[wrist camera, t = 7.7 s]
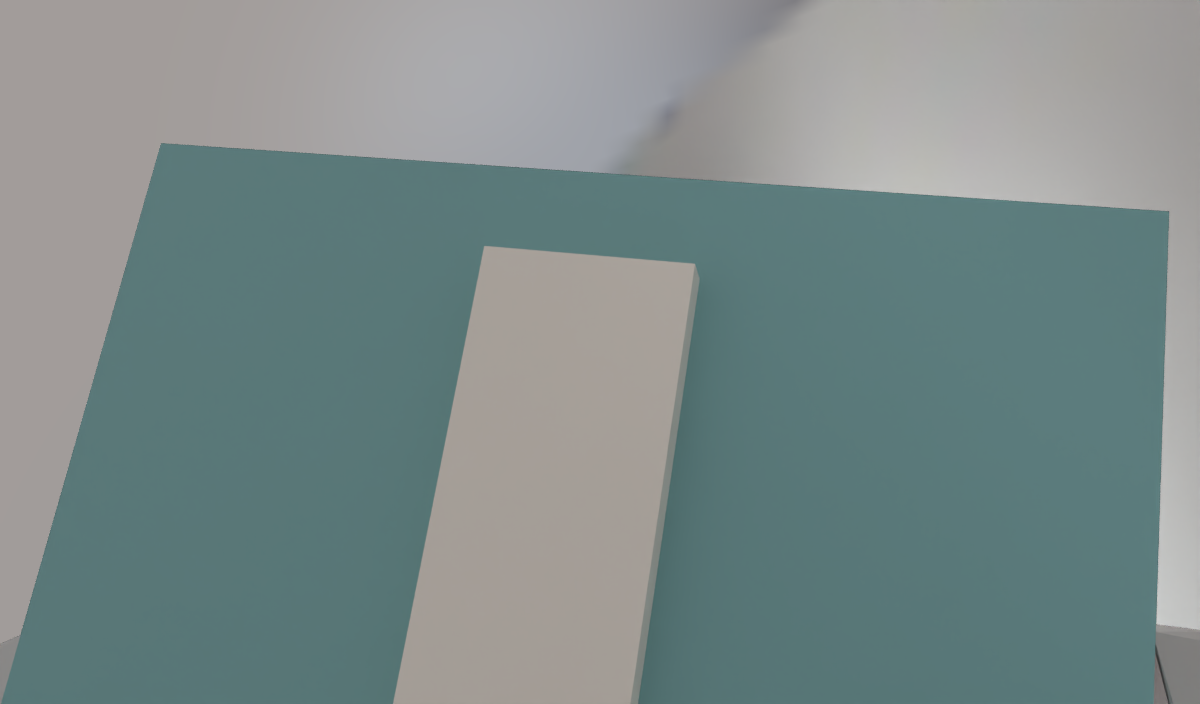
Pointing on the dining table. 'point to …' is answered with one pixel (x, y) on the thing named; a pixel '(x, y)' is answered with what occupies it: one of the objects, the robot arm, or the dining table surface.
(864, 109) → the dining table surface
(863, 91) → the dining table surface
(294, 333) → the lettered block
